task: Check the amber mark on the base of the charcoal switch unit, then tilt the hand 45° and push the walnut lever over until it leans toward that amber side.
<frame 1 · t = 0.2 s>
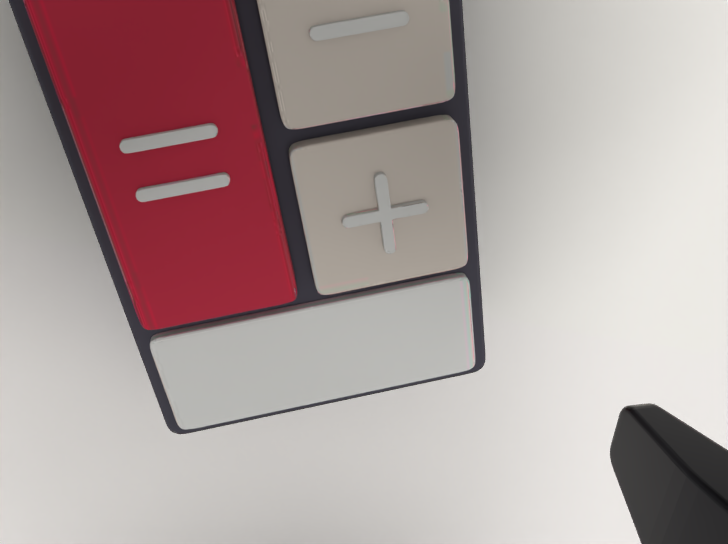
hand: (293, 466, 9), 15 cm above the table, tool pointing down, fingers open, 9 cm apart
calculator: (282, 160, 23), on the table
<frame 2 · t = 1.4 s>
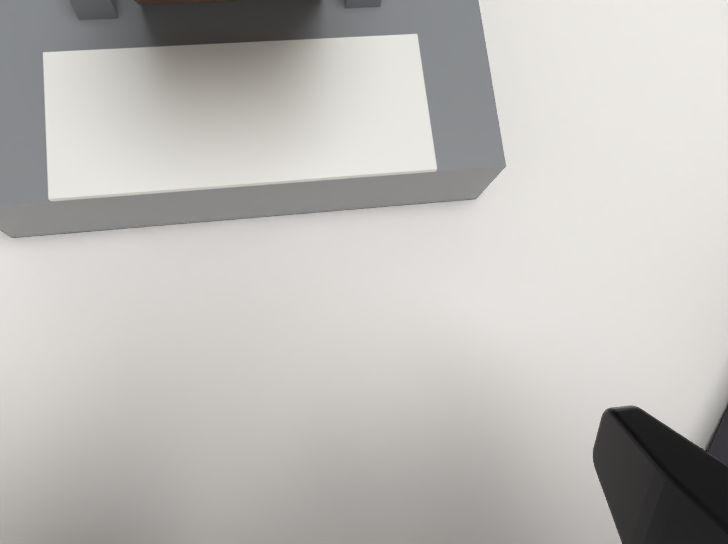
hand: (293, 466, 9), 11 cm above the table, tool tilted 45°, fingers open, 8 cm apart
switch unit: (237, 37, 22), on the table
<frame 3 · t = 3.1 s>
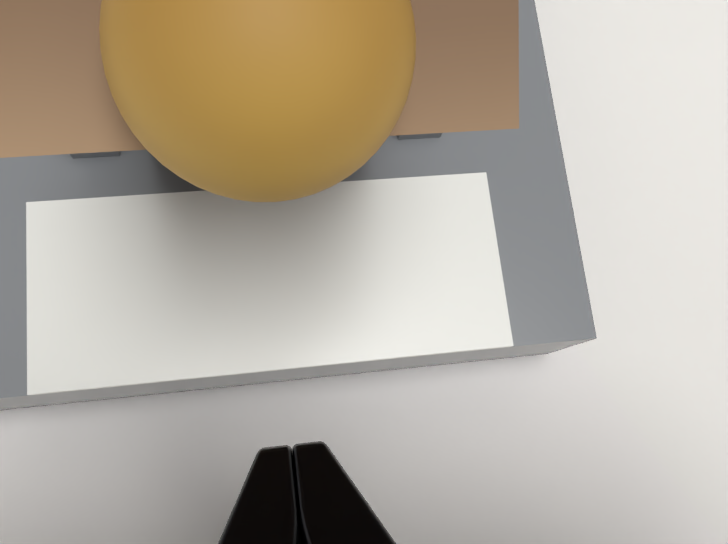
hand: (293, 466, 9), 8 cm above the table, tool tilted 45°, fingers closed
switch unit: (263, 157, 19), on the table
lever: (260, 80, 10), point 9 cm above the table, hinge at -25.0°
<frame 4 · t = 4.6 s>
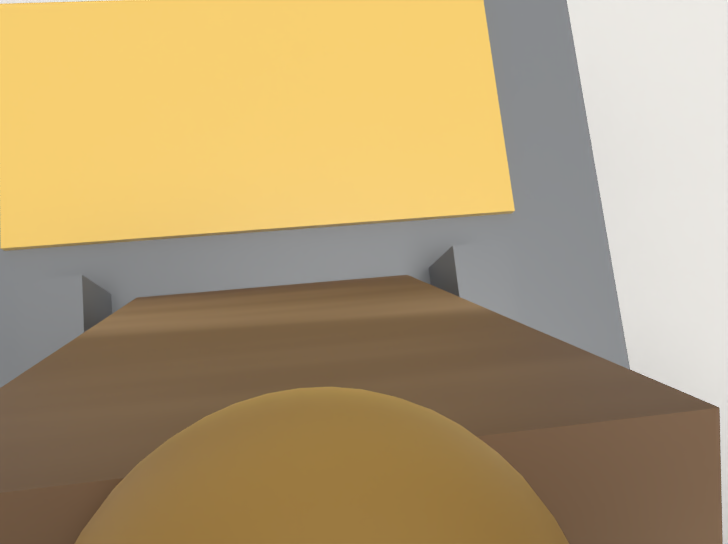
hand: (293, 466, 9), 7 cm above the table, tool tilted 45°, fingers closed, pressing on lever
switch unit: (279, 344, 16), on the table
lever: (290, 411, 8), point 9 cm above the table, hinge at -15.6°, touching gripper
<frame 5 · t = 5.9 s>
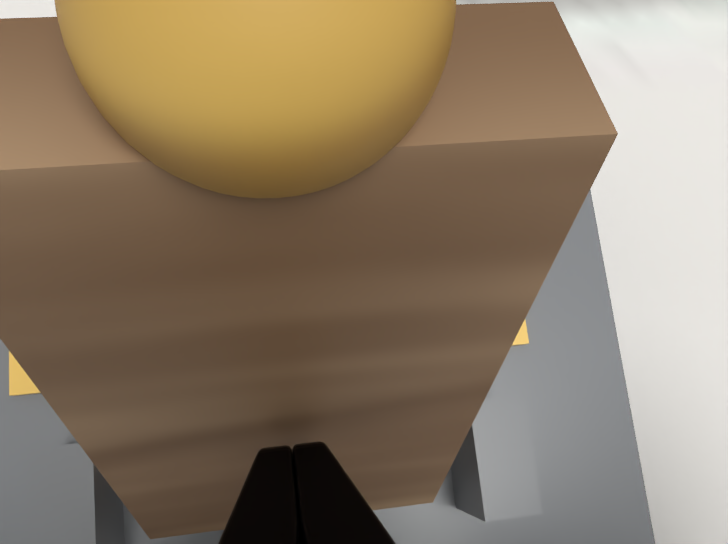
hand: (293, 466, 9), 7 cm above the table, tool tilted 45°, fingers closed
switch unit: (289, 465, 16), on the table
lever: (282, 323, 8), point 9 cm above the table, hinge at 22.2°
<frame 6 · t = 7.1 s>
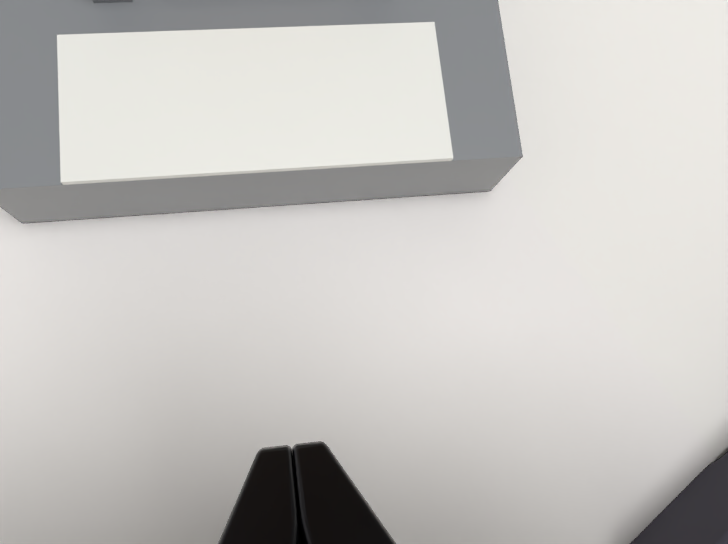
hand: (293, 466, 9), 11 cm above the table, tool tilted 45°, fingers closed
switch unit: (251, 25, 22), on the table
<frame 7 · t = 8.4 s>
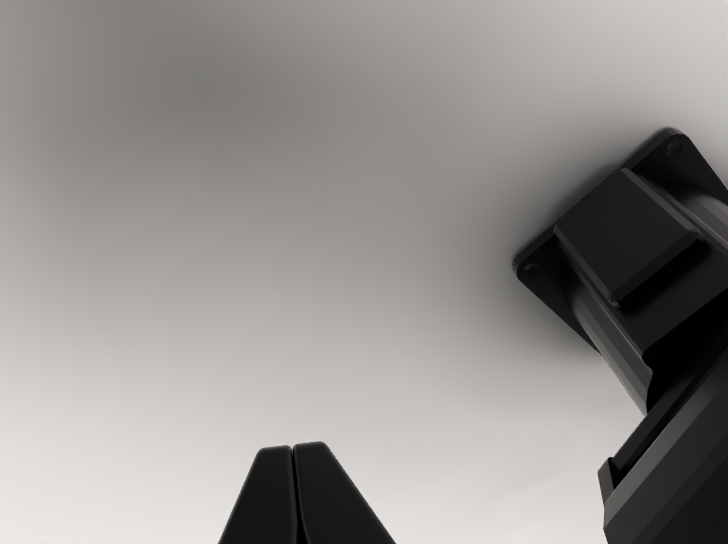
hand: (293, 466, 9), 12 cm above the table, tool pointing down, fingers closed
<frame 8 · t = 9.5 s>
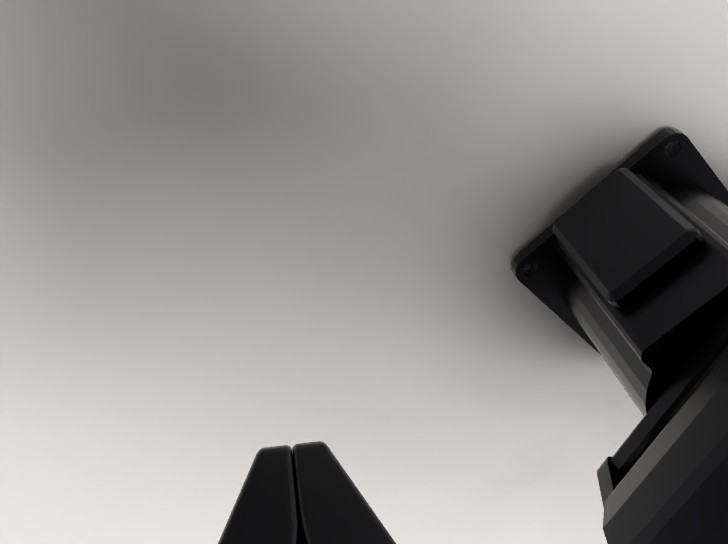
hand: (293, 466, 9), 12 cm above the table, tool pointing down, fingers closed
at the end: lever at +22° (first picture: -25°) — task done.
